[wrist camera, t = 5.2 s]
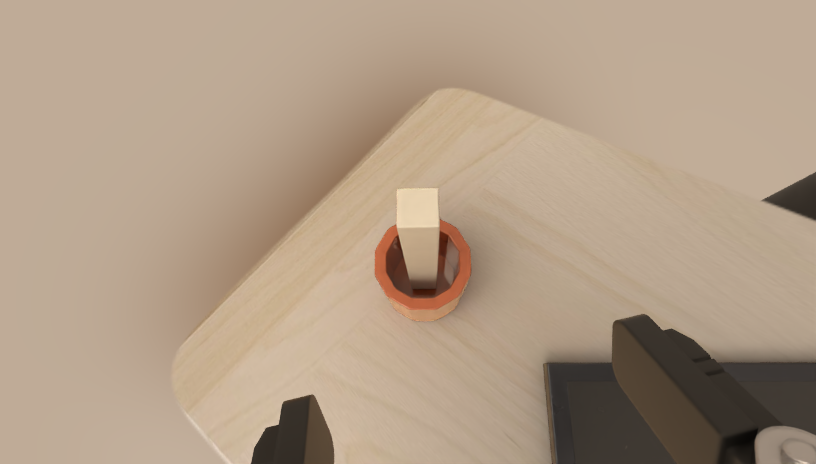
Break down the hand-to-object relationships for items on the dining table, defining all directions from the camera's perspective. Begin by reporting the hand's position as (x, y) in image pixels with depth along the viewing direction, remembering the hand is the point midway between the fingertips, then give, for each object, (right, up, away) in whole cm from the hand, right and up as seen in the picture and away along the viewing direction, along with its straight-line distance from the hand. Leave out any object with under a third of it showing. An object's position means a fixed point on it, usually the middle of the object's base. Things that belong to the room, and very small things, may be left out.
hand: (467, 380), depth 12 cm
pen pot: (-1, +1, +17) cm, 17 cm away
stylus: (-1, +1, +16) cm, 16 cm away
